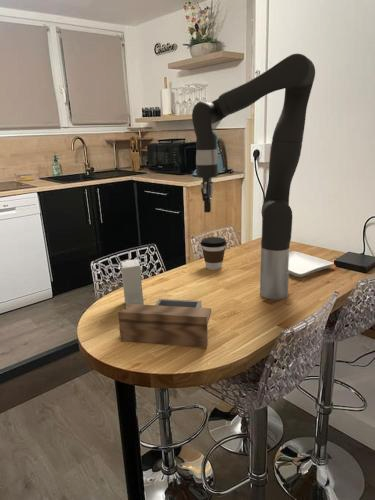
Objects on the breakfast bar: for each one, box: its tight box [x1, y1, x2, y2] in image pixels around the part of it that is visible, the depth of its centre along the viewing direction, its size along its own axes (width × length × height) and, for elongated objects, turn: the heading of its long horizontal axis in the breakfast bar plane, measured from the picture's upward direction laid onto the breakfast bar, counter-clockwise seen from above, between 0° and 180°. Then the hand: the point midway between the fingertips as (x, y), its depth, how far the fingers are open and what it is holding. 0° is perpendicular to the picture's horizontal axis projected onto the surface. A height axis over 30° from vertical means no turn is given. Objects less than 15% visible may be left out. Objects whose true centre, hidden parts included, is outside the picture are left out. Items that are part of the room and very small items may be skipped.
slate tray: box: [154, 298, 202, 308], centre depth 116 cm, size 14×18×3 cm
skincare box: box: [120, 259, 145, 309], centre depth 126 cm, size 8×6×15 cm
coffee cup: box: [199, 236, 228, 271], centre depth 160 cm, size 11×11×12 cm
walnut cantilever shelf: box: [117, 304, 212, 349], centre depth 106 cm, size 24×10×9 cm, turn 79°
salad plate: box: [288, 250, 335, 278], centre depth 158 cm, size 21×21×3 cm
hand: (207, 211), depth 139 cm, fingers closed
